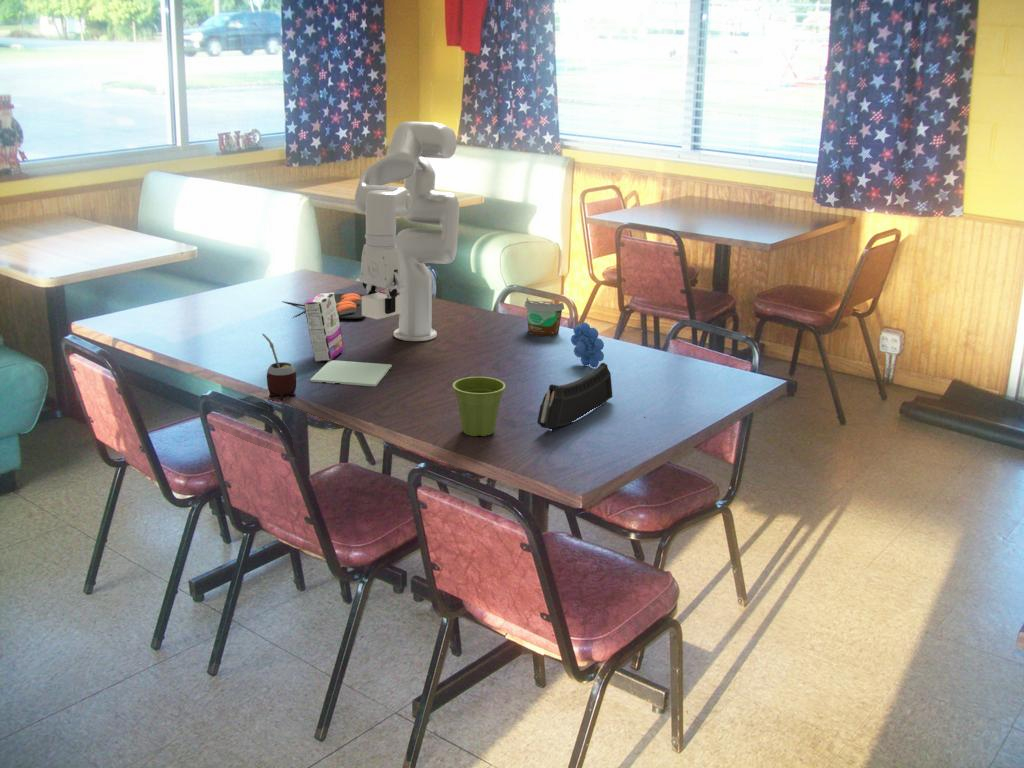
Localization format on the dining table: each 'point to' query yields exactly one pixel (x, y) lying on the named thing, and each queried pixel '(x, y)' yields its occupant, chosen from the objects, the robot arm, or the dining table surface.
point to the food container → (543, 317)
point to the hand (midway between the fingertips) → (381, 309)
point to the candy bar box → (324, 327)
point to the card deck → (378, 305)
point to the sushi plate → (345, 306)
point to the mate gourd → (280, 377)
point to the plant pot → (478, 404)
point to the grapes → (587, 344)
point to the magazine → (575, 398)
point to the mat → (351, 373)
